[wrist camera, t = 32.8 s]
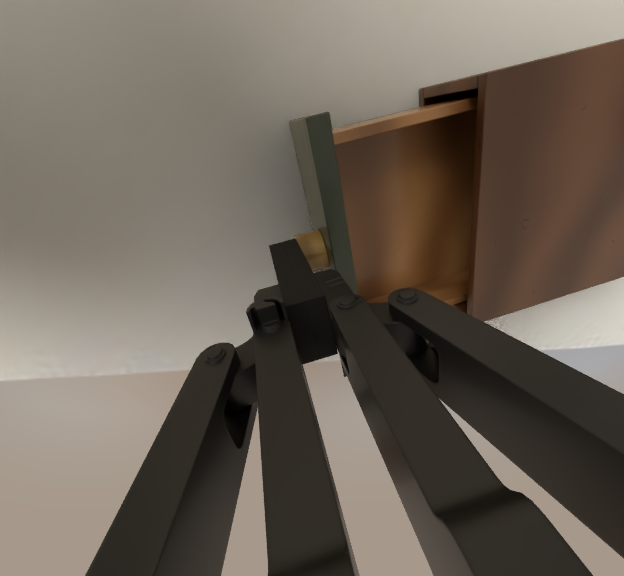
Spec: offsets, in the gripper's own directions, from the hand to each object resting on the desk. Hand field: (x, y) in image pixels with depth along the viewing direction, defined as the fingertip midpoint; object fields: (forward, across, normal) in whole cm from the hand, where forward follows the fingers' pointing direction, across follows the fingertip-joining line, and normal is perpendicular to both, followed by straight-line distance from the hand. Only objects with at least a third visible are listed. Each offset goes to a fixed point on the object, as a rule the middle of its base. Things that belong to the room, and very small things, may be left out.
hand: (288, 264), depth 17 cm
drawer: (+3, +9, 0) cm, 10 cm away
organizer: (+3, +17, 0) cm, 17 cm away
